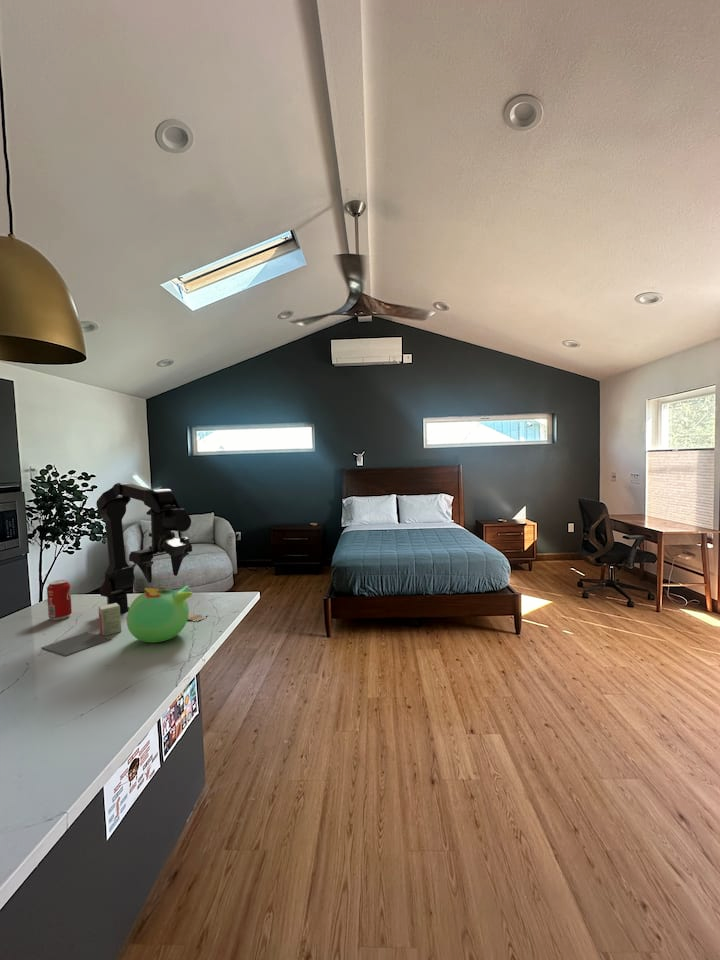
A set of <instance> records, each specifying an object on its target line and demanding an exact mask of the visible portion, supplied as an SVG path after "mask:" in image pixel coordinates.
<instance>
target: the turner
mask: <svg viewBox="0 0 720 960" xmlns="http://www.w3.org/2000/svg"><path fill="white" fill-rule="evenodd" d="M201 615H202V614H197V613H196V614H195V613H193V614H192V613H190V614H189V615H188V620H196V621H197V620H198V621H199V620H201V619H202V618H203V617H202V616H201ZM196 621H195V622H196ZM201 621H202V620H201Z"/></svg>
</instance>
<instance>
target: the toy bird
mask: <svg viewBox="0 0 720 960" xmlns="http://www.w3.org/2000/svg"><path fill="white" fill-rule="evenodd" d="M144 590H145V591H144V592H142V594H139V595H138V596H137V597H136V598H135V599H134V600H133V601H132V602H131V604H130V606H129V607H130V608H129V610H128V611H127V615H126V625H127V629H128V631H129V633H130V635H132V636H133V637H134V638H135V639H137V640H139V641H141V642H145V643H150V644H151V643H153V644H154V643H161V642H162V643H163V642H166V641H168V640H171V639H173V638H174V637H176V636H177V635H179V634H180V633H181V632H182V631H183V629H184V628H185V626H186V624H187V623H188V621H187V620H188V616H189V615H190V614H189V613H190V612H189V611H190V610H189V605H188V602H187V601H188V600H187V599H189V598H190V597H191V596H193V592H191V591H189V590H190V587H189V585H184V586H183V587H181V588H179V589H178V590H173V589H169V588H161V587H160V588H154V587H153V588H152V587H144Z"/></svg>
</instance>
